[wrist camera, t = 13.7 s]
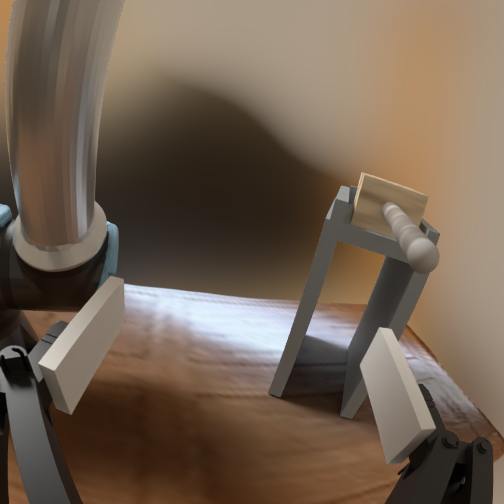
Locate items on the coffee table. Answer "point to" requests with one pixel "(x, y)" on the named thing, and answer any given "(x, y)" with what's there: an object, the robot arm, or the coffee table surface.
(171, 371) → the coffee table surface
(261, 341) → the coffee table surface
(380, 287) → the shelf
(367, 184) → the maple block
